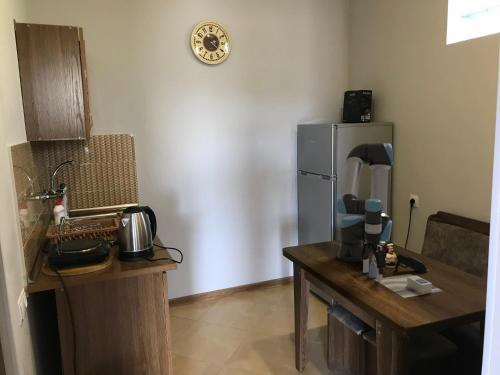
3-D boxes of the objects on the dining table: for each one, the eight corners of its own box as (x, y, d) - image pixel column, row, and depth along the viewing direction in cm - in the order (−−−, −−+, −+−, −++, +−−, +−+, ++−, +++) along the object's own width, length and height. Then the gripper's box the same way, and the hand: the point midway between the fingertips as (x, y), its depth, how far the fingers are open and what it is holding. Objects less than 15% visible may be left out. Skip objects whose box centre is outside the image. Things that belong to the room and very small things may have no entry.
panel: (374, 280, 193) (374, 279, 193) (410, 274, 199) (410, 273, 198) (403, 299, 172) (403, 297, 172) (442, 292, 178) (443, 290, 178)
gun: (420, 284, 201) (431, 267, 199) (390, 268, 202) (400, 252, 200) (419, 282, 204) (429, 265, 201) (389, 267, 205) (399, 250, 203)
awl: (367, 277, 198) (368, 254, 196) (374, 276, 198) (375, 254, 196) (370, 279, 194) (371, 256, 193) (377, 279, 195) (378, 256, 193)
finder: (406, 285, 185) (407, 276, 184) (416, 283, 186) (416, 274, 185) (421, 293, 175) (422, 284, 175) (431, 292, 177) (431, 282, 176)
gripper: (353, 227, 203) (353, 269, 206) (380, 239, 181) (379, 286, 184) (366, 225, 205) (366, 267, 208) (394, 237, 183) (394, 283, 186)
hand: (372, 276), depth 196 cm, fingers open, 11 cm apart
